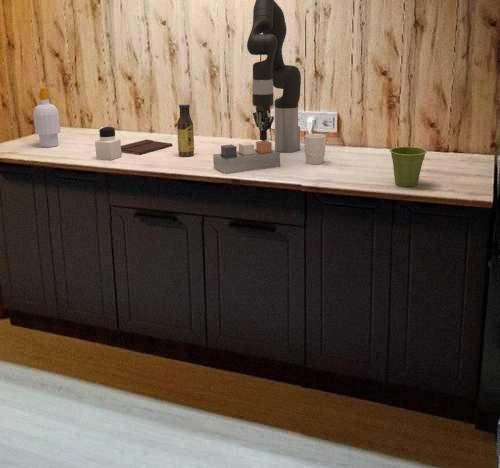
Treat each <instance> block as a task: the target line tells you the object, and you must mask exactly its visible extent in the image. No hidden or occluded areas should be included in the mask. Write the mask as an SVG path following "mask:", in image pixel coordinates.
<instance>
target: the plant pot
mask: <svg viewBox="0 0 500 468" xmlns="http://www.w3.org/2000/svg"><path fill="white" fill-rule="evenodd" d="M389 152H390V153H391V159H392V165H393V166H392V167H393V175H394V184H395V185H397V186H399V187H400V186H401V187H404V186H405V187H408V186H409V187H415V186H417V185H418V183H419V180H420V175H421V172H422V171H421V170H422V167H423V161H424V159H425V157H426V156H425V155H426V154H427V153H428V150H427V149H425V148H421V147H417V146H397V147H393V148H392V147H391V148H390V149H389Z"/></svg>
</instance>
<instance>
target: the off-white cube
mask: <svg viewBox="0 0 500 468" xmlns="http://www.w3.org/2000/svg"><path fill="white" fill-rule="evenodd" d="M254 149H255V144H254V143H252V142H243V143H241V142H240V143H238V151H239V153H240V154H242V155H251V154H254Z"/></svg>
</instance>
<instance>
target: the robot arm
mask: <svg viewBox="0 0 500 468" xmlns="http://www.w3.org/2000/svg"><path fill="white" fill-rule="evenodd" d="M252 13H253V14H252V26H251V30H250V34H249V36H248V39H247V42H246V49H247V52H248V53H249V54H250V55H252V56H266V58H265V59H264V60H261V61H257V62H254V63H253V64H252V84H251V85H252V86H251V87H252V89H251V91H252V93H251V94H252V96H251V97H252V98H251V99H252V106H254V107H255V111H254V112H252V117H253V120H254V122H255V125H256V128H258V130H259V141H266V140H267V141H268V130H270V129H271V127H272V124H273V122H274V151H277V152H279V153H294V152H297V151H300V150H301V126H300V125H299V102H300V98H301V86H302V85H301V84H302V77H301V76H302V75H301V71H300V68H299V67H297V65H292V64H291V65H289V64H285V62H284V58H283V45H284V42H285V40H286V36H287V30H288V29H287V24H286V18H285V14H284V11H283V10H282V8H281V7H280V5H279V4H278V3H277V2H276V1H275V0H255V2H254V6H253V11H252ZM274 88H276V89H280V90H282V95H281V96H280V97H278V98H276V99H275V100H274ZM273 105H274V116H271V108H270V107H272V106H273Z"/></svg>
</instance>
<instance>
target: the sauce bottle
mask: <svg viewBox="0 0 500 468" xmlns="http://www.w3.org/2000/svg"><path fill="white" fill-rule="evenodd" d="M190 106H191V105H190V103H180V104H179V105H178V109H179V118H178V119H177V123H176V124H177V125H176V126H177V150H178V155H179V156H180V157H191V156H194V155H195V140H194V139H195V136H194V133H195V132H194V123H193V119H192V118H191V115H190V108H191V107H190Z"/></svg>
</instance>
